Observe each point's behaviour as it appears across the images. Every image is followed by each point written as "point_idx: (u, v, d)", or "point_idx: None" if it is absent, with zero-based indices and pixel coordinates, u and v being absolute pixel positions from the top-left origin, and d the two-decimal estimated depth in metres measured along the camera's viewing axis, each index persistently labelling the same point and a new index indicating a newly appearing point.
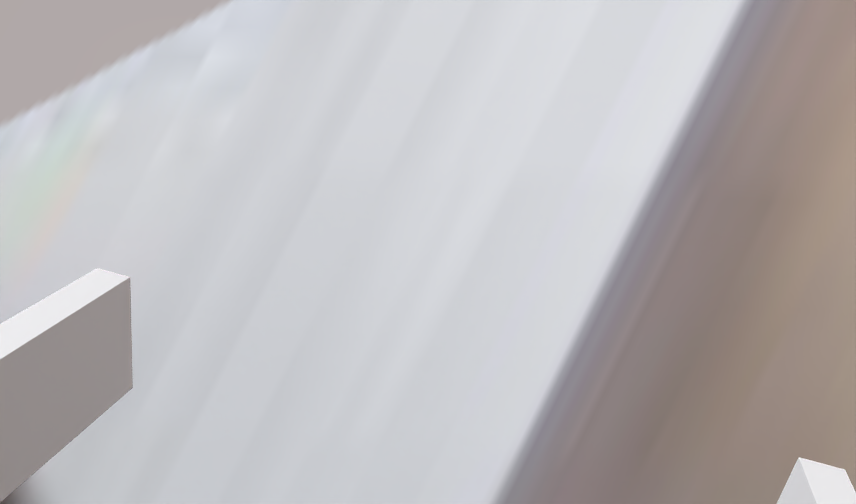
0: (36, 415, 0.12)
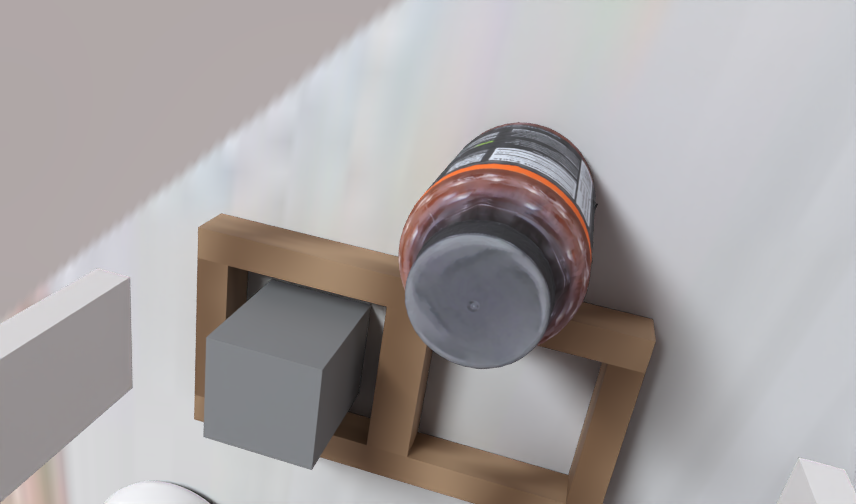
0: (36, 415, 0.12)
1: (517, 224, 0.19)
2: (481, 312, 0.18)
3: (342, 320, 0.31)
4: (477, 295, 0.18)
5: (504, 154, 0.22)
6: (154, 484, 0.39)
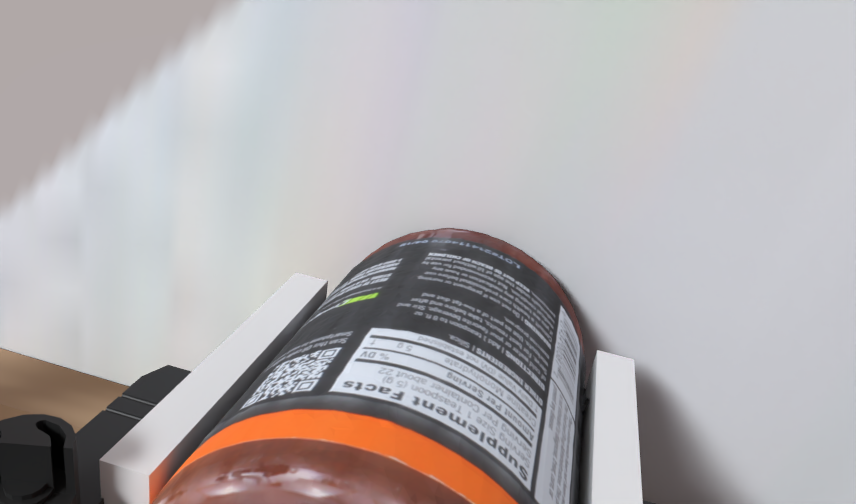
0: None
1: None
2: None
3: None
4: None
5: (376, 362, 0.10)
6: None
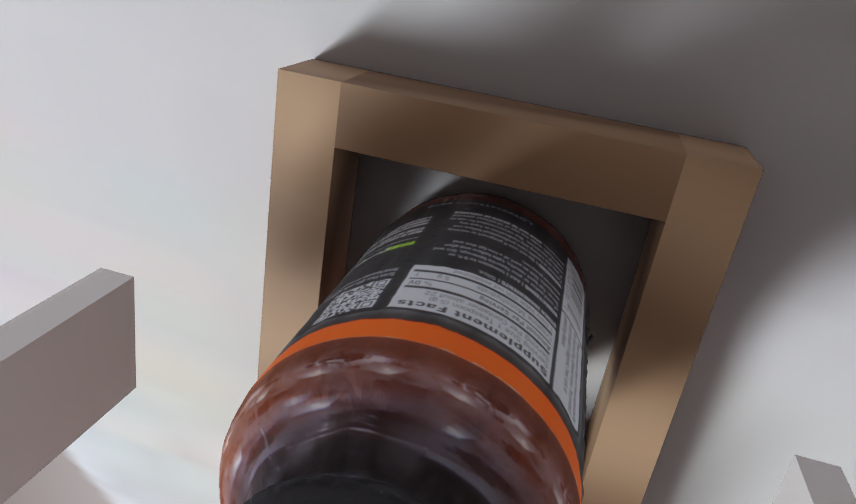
0: (40, 414, 0.12)
1: (426, 477, 0.09)
2: None
3: None
4: None
5: (422, 287, 0.12)
6: None
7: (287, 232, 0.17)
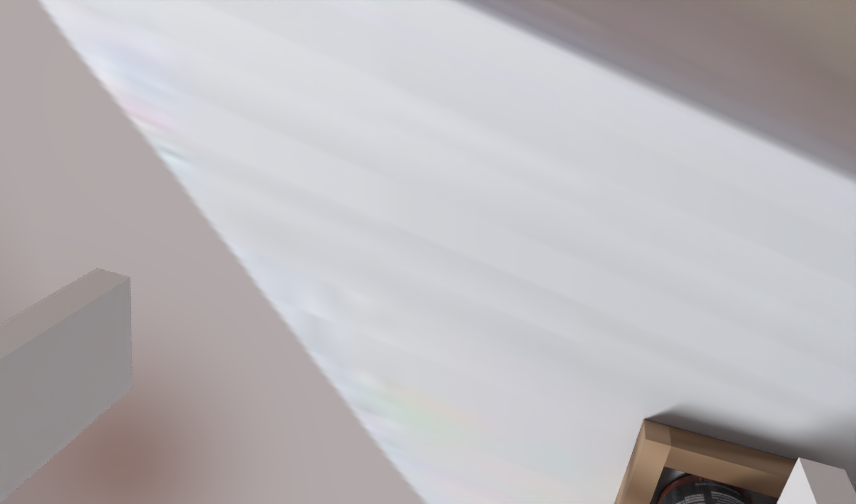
0: (36, 415, 0.12)
1: None
2: None
3: None
4: None
5: None
6: None
7: (636, 492, 0.42)
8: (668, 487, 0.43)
